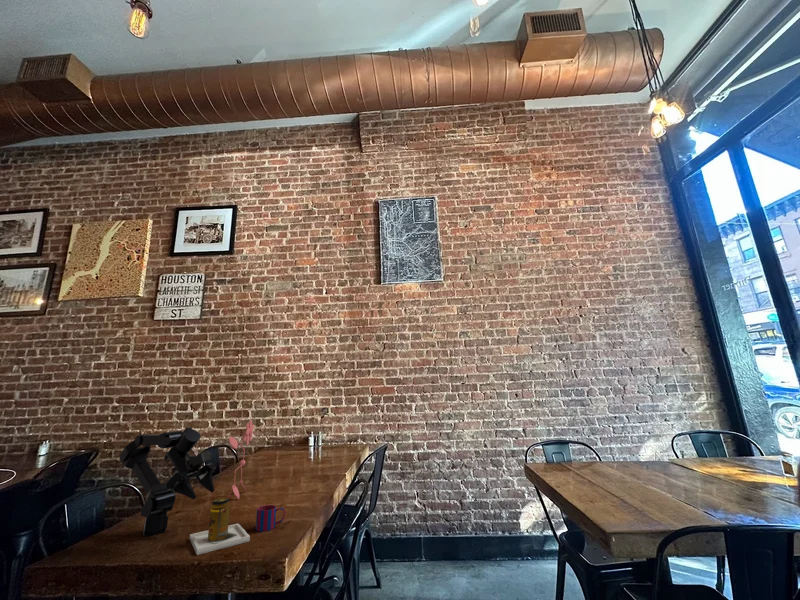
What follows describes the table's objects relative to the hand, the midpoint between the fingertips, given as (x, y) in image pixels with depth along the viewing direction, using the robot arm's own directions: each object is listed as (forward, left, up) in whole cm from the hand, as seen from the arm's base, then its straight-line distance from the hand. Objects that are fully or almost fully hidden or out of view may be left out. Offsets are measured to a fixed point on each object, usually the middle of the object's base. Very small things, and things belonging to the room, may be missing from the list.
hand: (204, 494), depth 127 cm
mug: (+22, -7, -14) cm, 27 cm away
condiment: (+5, -6, -13) cm, 15 cm away
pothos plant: (+26, +43, -14) cm, 52 cm away
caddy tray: (+5, -7, -14) cm, 16 cm away
